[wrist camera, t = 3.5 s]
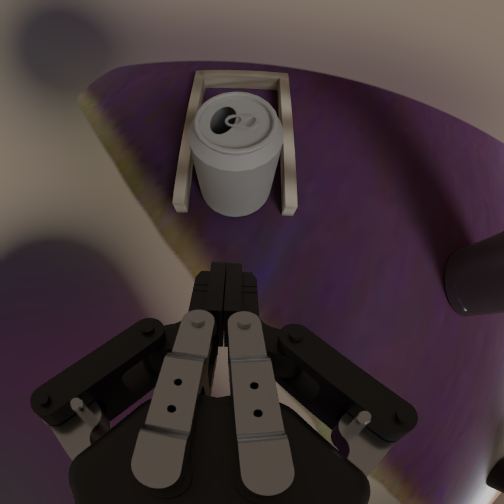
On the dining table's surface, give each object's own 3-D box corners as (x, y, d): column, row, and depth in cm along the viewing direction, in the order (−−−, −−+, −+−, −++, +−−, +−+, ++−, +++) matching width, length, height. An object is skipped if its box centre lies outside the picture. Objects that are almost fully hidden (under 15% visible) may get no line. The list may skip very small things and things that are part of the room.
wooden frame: (292, 215, 30) (297, 206, 27) (177, 212, 29) (172, 203, 27) (285, 85, 35) (288, 73, 32) (197, 82, 34) (196, 70, 32)
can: (214, 152, 31) (206, 77, 20) (276, 169, 31) (296, 97, 20) (191, 209, 30) (168, 146, 18) (259, 228, 29) (273, 171, 18)
